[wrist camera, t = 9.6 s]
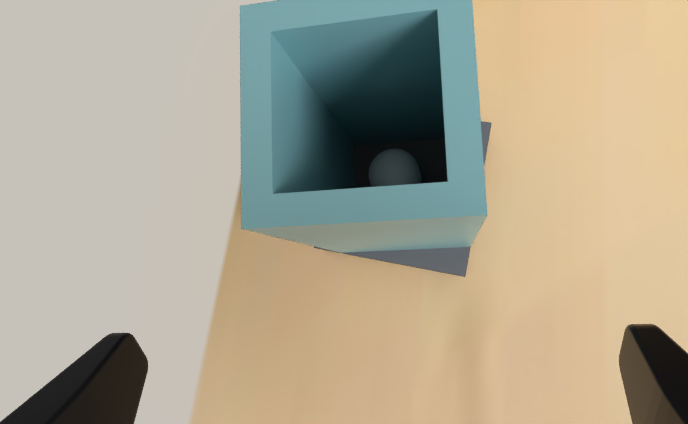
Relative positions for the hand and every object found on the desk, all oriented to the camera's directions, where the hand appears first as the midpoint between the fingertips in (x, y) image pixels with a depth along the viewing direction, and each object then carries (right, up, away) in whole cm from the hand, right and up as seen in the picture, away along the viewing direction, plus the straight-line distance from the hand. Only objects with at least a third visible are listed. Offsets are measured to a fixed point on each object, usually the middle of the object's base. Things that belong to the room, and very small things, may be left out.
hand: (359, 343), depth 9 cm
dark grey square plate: (+2, +3, +12) cm, 13 cm away
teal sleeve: (+2, +3, +11) cm, 12 cm away
